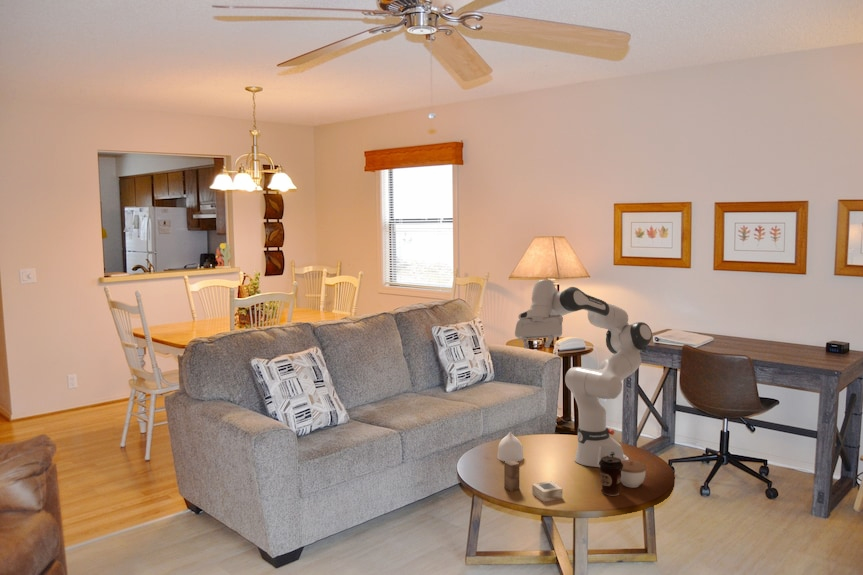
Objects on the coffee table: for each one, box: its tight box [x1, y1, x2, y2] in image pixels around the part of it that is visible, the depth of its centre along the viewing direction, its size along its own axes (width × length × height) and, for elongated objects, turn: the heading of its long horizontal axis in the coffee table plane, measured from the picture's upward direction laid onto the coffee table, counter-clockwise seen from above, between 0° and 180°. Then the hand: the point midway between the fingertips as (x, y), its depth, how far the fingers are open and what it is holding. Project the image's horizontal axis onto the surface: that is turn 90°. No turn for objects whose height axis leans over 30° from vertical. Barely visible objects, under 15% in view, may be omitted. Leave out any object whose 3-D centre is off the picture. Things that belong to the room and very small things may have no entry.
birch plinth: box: [531, 480, 563, 503], centre depth 251 cm, size 8×8×4 cm
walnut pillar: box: [503, 460, 520, 492], centre depth 258 cm, size 4×4×10 cm
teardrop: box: [496, 430, 524, 463], centre depth 290 cm, size 11×11×12 cm
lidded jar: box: [620, 459, 647, 489], centre depth 260 cm, size 11×11×9 cm
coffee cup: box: [599, 456, 623, 497], centre depth 252 cm, size 9×8×13 cm
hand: (536, 347), depth 276 cm, fingers open, 8 cm apart
